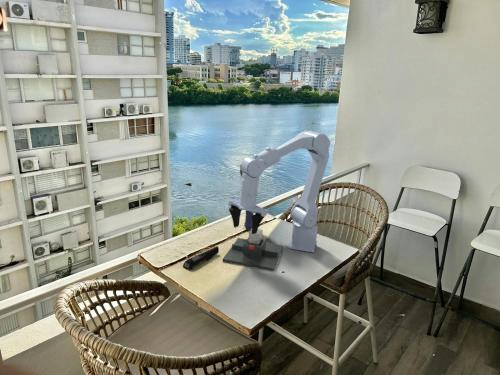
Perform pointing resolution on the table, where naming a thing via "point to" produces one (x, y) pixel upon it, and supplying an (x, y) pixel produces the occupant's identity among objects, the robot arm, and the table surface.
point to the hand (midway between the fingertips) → (245, 229)
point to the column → (255, 237)
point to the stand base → (254, 254)
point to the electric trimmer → (200, 258)
